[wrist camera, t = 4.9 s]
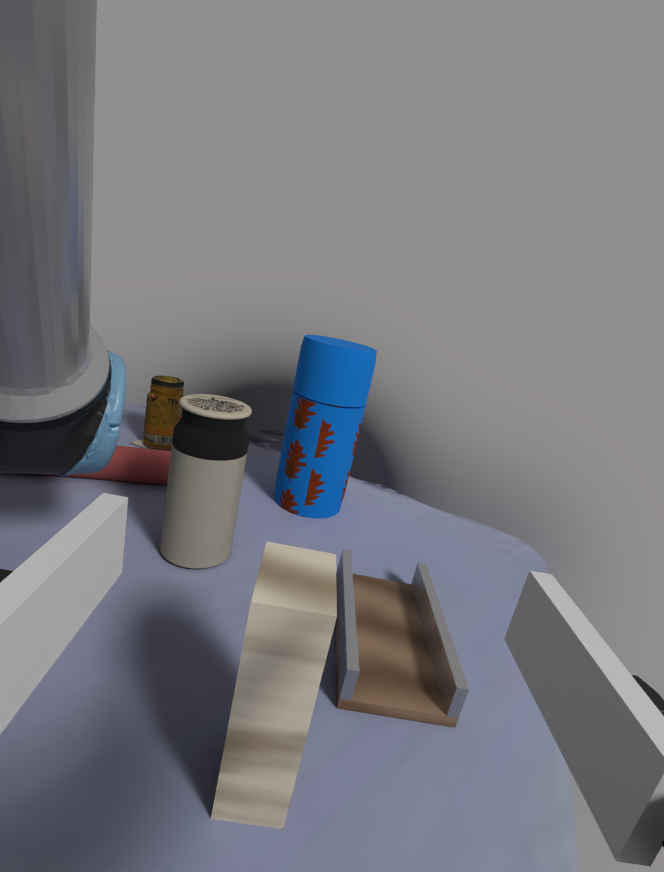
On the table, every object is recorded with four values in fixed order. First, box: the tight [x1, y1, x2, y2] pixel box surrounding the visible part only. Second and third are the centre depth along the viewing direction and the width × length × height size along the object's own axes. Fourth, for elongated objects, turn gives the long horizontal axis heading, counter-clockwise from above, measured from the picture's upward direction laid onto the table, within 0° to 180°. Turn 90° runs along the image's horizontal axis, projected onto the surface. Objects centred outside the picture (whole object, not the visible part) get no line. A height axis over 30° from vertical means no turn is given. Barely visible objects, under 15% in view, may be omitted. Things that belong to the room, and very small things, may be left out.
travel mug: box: [160, 394, 252, 568], centre depth 52 cm, size 8×8×18 cm
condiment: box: [131, 376, 184, 451], centre depth 81 cm, size 7×8×12 cm
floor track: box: [336, 549, 469, 727], centre depth 47 cm, size 18×10×4 cm, turn 0°
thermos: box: [274, 335, 377, 518], centre depth 70 cm, size 11×11×25 cm
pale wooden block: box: [211, 542, 337, 829], centre depth 29 cm, size 6×4×16 cm
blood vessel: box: [23, 446, 171, 485], centre depth 65 cm, size 42×5×5 cm, turn 105°
